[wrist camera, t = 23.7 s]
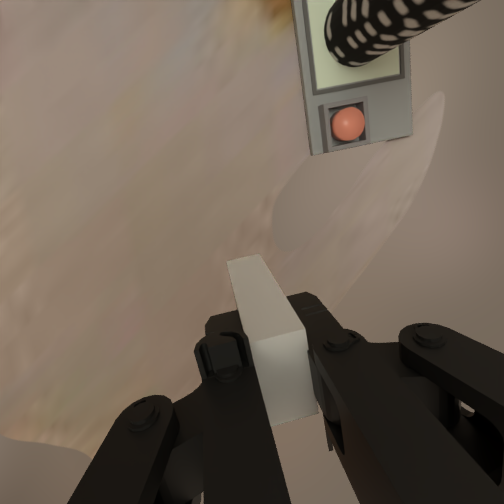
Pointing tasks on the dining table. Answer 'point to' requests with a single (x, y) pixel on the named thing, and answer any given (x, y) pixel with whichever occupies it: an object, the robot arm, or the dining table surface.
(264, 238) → the dining table surface
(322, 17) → the picture board
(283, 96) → the dining table surface
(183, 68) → the dining table surface
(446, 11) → the white-spotted black cylinder
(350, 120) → the button
